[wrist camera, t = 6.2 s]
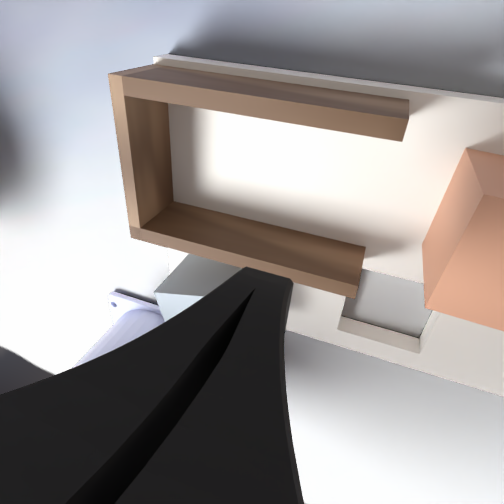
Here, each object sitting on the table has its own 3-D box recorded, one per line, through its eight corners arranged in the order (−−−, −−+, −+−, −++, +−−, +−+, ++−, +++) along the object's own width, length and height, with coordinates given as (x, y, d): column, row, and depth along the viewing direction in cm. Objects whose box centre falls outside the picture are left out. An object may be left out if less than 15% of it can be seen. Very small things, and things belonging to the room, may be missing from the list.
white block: (265, 310, 22) (241, 359, 19) (206, 304, 24) (175, 350, 21) (253, 253, 20) (224, 298, 17) (190, 251, 22) (153, 292, 19)
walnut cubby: (362, 258, 18) (354, 299, 16) (164, 209, 21) (130, 237, 18) (409, 99, 14) (408, 119, 11) (154, 64, 17) (108, 73, 14)
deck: (501, 380, 20) (506, 398, 19) (180, 283, 25) (171, 294, 24) (689, 122, 12) (711, 131, 12) (167, 54, 17) (153, 56, 16)
